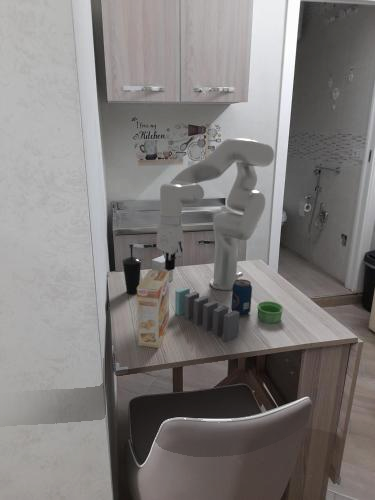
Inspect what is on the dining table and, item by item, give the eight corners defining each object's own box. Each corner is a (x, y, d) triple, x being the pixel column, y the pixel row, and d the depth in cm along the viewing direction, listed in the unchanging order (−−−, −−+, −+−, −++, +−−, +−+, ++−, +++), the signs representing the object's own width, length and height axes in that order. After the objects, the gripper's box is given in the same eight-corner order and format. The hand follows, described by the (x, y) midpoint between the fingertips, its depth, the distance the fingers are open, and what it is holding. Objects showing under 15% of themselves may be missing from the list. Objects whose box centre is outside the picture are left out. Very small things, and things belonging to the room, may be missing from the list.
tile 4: (213, 324, 127) (214, 300, 124) (217, 326, 126) (218, 302, 123) (202, 328, 124) (203, 304, 121) (206, 331, 122) (207, 306, 120)
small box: (163, 276, 166) (163, 254, 163) (173, 279, 163) (173, 257, 160) (151, 282, 160) (151, 259, 157) (161, 285, 157) (161, 262, 153)
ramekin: (268, 326, 126) (269, 315, 125) (251, 315, 133) (252, 304, 132) (287, 320, 131) (288, 309, 129) (269, 309, 138) (270, 299, 136)
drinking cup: (137, 297, 146) (135, 249, 140) (120, 294, 148) (117, 246, 142) (145, 289, 153) (144, 243, 147) (128, 286, 155) (127, 241, 149)
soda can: (227, 310, 137) (229, 280, 133) (244, 307, 139) (246, 277, 136) (236, 318, 131) (238, 287, 127) (253, 315, 133) (256, 284, 129)
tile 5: (222, 329, 124) (224, 305, 121) (227, 331, 122) (228, 307, 120) (212, 334, 121) (213, 309, 118) (216, 336, 119) (217, 311, 116)
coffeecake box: (159, 348, 113) (159, 289, 106) (137, 346, 114) (135, 287, 108) (170, 324, 127) (170, 270, 120) (149, 322, 128) (148, 269, 122)
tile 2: (194, 314, 134) (195, 291, 131) (198, 316, 132) (199, 293, 129) (184, 318, 130) (184, 295, 128) (188, 320, 129) (188, 297, 126)
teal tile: (185, 309, 137) (186, 286, 134) (189, 311, 136) (189, 288, 133) (175, 313, 134) (175, 290, 131) (178, 315, 133) (179, 292, 130)
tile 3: (203, 318, 130) (204, 295, 127) (207, 321, 129) (208, 297, 126) (193, 323, 127) (193, 299, 124) (197, 325, 126) (197, 301, 123)
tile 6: (233, 334, 121) (234, 310, 118) (237, 337, 119) (239, 312, 116) (222, 340, 117) (223, 315, 115) (227, 343, 116) (228, 317, 113)
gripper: (149, 217, 132) (149, 265, 137) (176, 225, 121) (175, 277, 127) (165, 214, 136) (165, 261, 142) (193, 222, 126) (191, 273, 131)
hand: (169, 269), depth 134 cm, fingers closed
